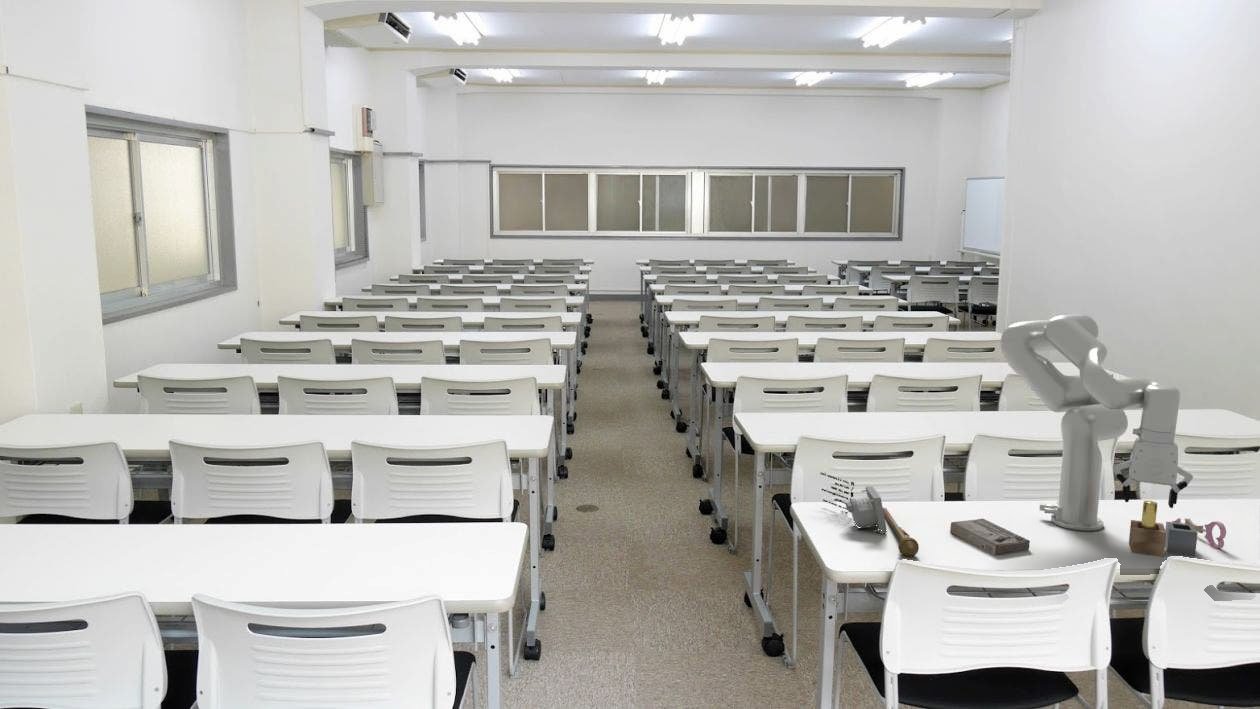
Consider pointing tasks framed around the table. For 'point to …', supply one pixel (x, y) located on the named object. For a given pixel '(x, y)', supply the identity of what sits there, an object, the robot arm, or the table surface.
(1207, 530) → the decorative key
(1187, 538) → the socket block
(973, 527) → the box
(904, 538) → the brown rod with knob
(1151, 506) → the brass bar
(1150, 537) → the brown open box
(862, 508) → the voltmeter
